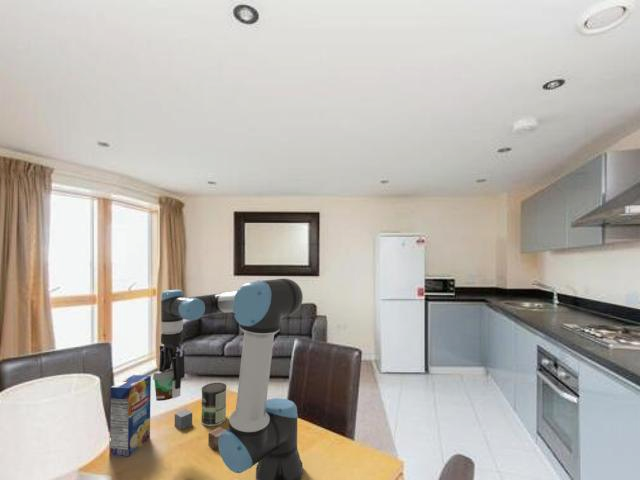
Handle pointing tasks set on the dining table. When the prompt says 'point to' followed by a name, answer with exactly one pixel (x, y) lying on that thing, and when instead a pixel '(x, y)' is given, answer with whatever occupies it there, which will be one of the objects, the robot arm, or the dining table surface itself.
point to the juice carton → (129, 415)
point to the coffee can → (213, 404)
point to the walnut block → (214, 438)
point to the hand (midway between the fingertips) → (171, 394)
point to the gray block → (183, 419)
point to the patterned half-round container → (164, 384)
